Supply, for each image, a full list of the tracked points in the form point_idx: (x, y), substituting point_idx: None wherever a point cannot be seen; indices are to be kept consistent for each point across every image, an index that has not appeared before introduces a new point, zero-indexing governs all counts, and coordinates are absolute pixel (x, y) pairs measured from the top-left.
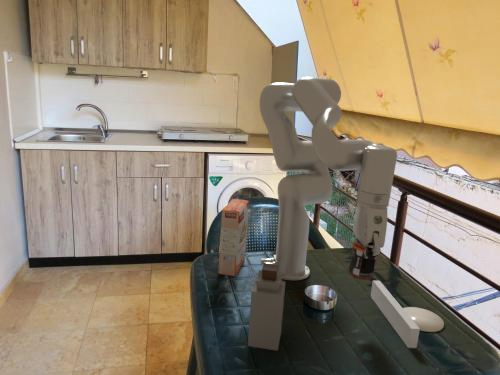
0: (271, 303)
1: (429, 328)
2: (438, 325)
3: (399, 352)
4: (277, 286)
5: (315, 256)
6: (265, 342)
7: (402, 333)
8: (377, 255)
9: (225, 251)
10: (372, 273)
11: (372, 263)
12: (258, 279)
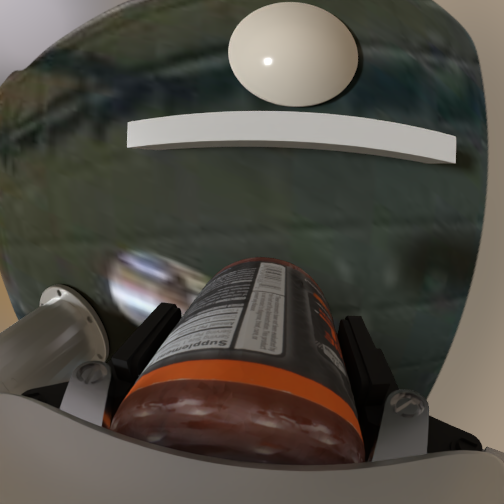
0: None
1: (349, 54)
2: (331, 24)
3: (439, 196)
4: None
5: (8, 239)
6: None
7: (398, 156)
8: (473, 436)
9: None
10: (314, 286)
11: (392, 381)
12: None
